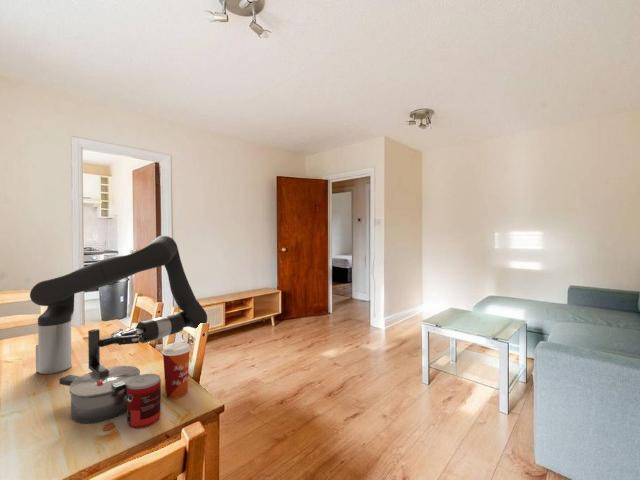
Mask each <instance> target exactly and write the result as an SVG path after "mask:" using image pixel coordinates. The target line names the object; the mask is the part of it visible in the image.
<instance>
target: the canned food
mask: <svg viewBox="0 0 640 480" xmlns="http://www.w3.org/2000/svg"><path fill="white" fill-rule="evenodd" d="M161 379H162V378H161V376H160V374H157V373H144V374H140V375H139V376H136V377H134V378H132V379H130V380H129V381H128V382H127V413H126V417H127V418H126V421H127V425H128V426H129V428H132V429H143V428H147V427H150V426H152V425H154V424H155V423H157V422H158V421H159V420H160V417H161V415H162V412H161V411H162V407H161V406H162V405H161V403H162V401H161V400H162V397H161V395H162V394H161V393H162V392H161V391H162V387H161V385H162V381H161Z"/></svg>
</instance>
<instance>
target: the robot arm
mask: <svg viewBox="0 0 640 480" xmlns="http://www.w3.org/2000/svg"><path fill="white" fill-rule="evenodd" d="M162 266H164V269H165V270H166V274H167V278H168V283H169V287H170V291H171V292H170V293H171V294H172V297H173V299H174V301H175V303H176V305H177V307H178V309H180V310H181V311H179V312H178V313H176V314H171V315H168V316H160V317H156V318H155V317H153V318H151V319H147V320H141V321H139V322H138V323H137V324H136V327H128V328H126V329H125V330H124V328H119V329H117V330H115V331H113V332H112V333H110V336H107V337H104V338H100V348H103V347H107V346H111V345H119V346H122V345H124V346H125V345H133V344H134V345H136V344H139V343H140V344H145V343H149V342H153V341H156V340H160V339H163V338H165V337H168V336H171V335H174V334H175V335H176V334H178V333H180V332H182V331H183V330H184V329H185V328H187V327H189V328H193V329H196V328H197V327H198V325H199V324H200V323H206V324H207V323H208V315H207V312H206V310H205V308H203V306H202V305H201V303H200V302H199V301H198V300H197V298H196V295H195V294H194V292H193V291H194V290H192V287H191V285H190V283H189V280H188V278H187V275H186V272H185V270H184V267H183V263H182V260H181V257H180V251H179V248H178V245H177V242H176V241H175V240H174V238H172V237H170V236H169V235H159V236H157V237H156V238H154V239H153V240H152V241H150V243H149V244H147V245H146V246H144V247H142V248H141V249H139V250H136V251H134V252H132V253H128V254H126V255H115V256H114V255H113V256H110V257H106V258H103V259H101V260H98V261H95V262H92V263H91V264H88V265H86V266H83V267H81V268H79V269H76V270H74V271H72V272H70V273H68V274H65V275H62V276H57V277H55V278H50V279H46V280H42V281H40V282H37V283H36V284H35V285H34V286H33V287H32V288H31V290H30V293H29V298H30V300H31V302H32V303H34V304H35V305H38V306H41V307H47V308H46V309H45V311H44V312H43V313H42V314H40V315H39V316H38V318H37V332H38V333H37V336H38V337H37V341H38V343H37V344H36V345H35V372H36V373H39V374H41V375H51V374H56V373H61V372H63V371H66V370H68V369H70V368H71V367H72V315H73V314H74V312H75V295H76V294H78V293H82V292H87V291H92V290H94V289H99V288H102V287H105V286H108V285H111V284H114V283H117V282H118V281H119V282H120V281H121V280H124V279H126V278H129V277H131V276H133V275H136V274H137V273H140V272H144V271H148V270H151V269H155V268H160V267H162Z"/></svg>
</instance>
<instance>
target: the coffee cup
mask: <svg viewBox="0 0 640 480" xmlns="http://www.w3.org/2000/svg"><path fill="white" fill-rule="evenodd" d="M191 350H192V347H191V346H190V344H189V343H188V342H185V341H178V342H171V343H169V344H166V345H164V347H163V350H162V352H161V354H162V360H163V371H164V385H165V395H166V398H168V399H179V398H182V397H184V396H185V395H187V393H188V387H189V386H188V384H189V371H190V370H189V369H190V368H189V367H190V354H191V353H190V352H191Z"/></svg>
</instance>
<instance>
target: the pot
mask: <svg viewBox="0 0 640 480" xmlns="http://www.w3.org/2000/svg"><path fill="white" fill-rule="evenodd" d="M81 376H82V375H81ZM81 376H80V375H73V374H67V375H66V376H63V377H61V378H59V383H58V384H59V385H62V386H66V387H67V386H69V387H70V384H71V383H72V382H73V381H74V380H76V379H77V378H79V377H81ZM70 412H71V413H70V416H71V417H70V418H71V420H72V421H73V422H75V423H76V424H82V425H85V424H86V425H87V424H90V425H91V424H97V423H101V422H102V423H103V422H106V421H110V420H113V419H116V418H119V417H120V416H123V415H125V414H127V387H126V389H123V390H120V391H117V392H112V393H109V394H105V395H99V396H92V397H79V396H74V395H72V394H71V393H70Z"/></svg>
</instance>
